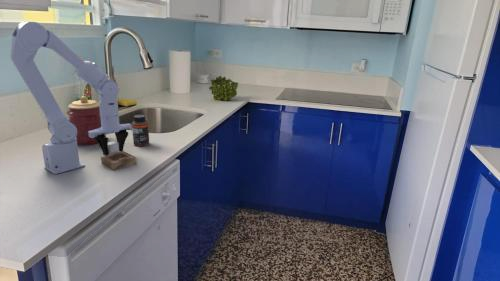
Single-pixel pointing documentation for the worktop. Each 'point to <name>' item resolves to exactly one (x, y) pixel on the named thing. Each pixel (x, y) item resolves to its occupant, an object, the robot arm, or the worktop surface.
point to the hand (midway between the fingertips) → (113, 153)
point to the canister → (84, 119)
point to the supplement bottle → (140, 131)
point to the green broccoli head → (223, 88)
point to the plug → (113, 147)
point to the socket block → (118, 160)
